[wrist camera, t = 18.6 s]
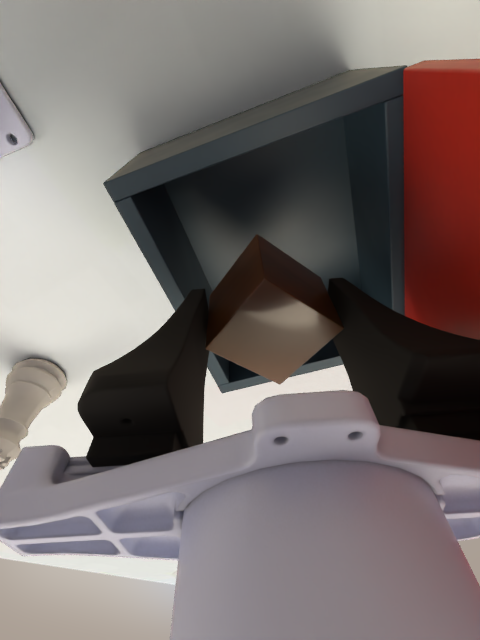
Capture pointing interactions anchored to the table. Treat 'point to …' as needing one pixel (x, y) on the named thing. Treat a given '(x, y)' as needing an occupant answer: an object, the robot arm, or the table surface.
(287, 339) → the block
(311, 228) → the dark grey open box
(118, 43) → the table surface
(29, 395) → the rook chess piece
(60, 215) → the table surface
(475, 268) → the lid
